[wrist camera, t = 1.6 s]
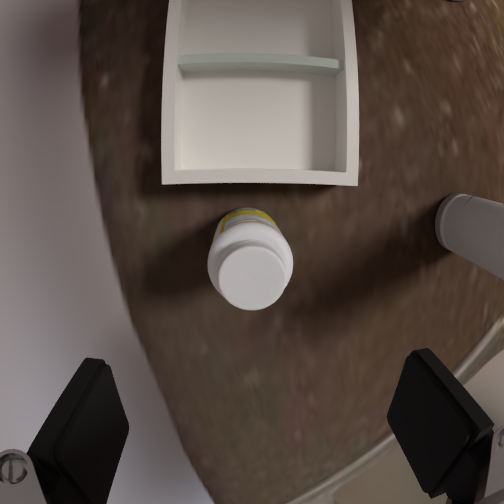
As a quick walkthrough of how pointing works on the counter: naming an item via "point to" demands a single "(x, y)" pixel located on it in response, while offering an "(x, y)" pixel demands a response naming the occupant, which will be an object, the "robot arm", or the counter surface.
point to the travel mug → (473, 230)
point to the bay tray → (260, 92)
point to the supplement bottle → (249, 259)
